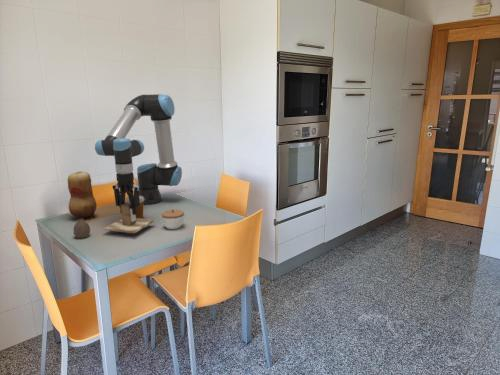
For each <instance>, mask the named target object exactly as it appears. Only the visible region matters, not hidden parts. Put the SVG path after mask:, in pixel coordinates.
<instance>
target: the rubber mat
mask: <svg viewBox="0 0 500 375" xmlns="http://www.w3.org/2000/svg"><path fill="white" fill-rule="evenodd" d="M155 227H157V226H156V225H152V224H149V225H148V226H146V227H144V228H143V229H141V230H139V231H138V232H136V233H126V232H117V231H109V230H107V232H105V233H103V234H102V236H103V237H104V236H106V237H113V238H122V239H130V240H136V239H138V238H140V237H142V236H143V235H144V234H147V232H149V231H151V230H153V229H154V228H155Z"/></svg>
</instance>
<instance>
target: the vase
mask: <svg viewBox="0 0 500 375" xmlns="http://www.w3.org/2000/svg"><path fill="white" fill-rule="evenodd" d="M72 230H73V235H74V236H75V238H76V239H81V240H82V239H86V238H88V237H89V236H90V234H91V227H90V225H89V223H88V222H87V221H86V220H85V218H78V219H77V220H76V223H75V224H74V226H73V229H72Z"/></svg>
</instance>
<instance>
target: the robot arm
mask: <svg viewBox="0 0 500 375" xmlns="http://www.w3.org/2000/svg"><path fill="white" fill-rule="evenodd" d="M175 110H176V109H175V104H174V101H173V98H172V97H171V96H170V95H169V94H161V93H157V94H156V93H155V94H140V95H137V96H136V97H134V98H132V99H131V100H130V101H129V102H128V103H127V104H126V105H125V106H124V108H123V113H122V114H121V116H120V117H119V119H118V120H117V121H116V122H115V124H114V126H113V127H112V128H111V130H110V131H109V132H108V134H107V135H106V137H105V138H104V139H99V140H97V141H96V142H95V144H94V150H95V153H96V154H97V155H98V156H105V157H114V165H115V172H116V174H115V175H116V176H115V177H116V181H117V183H116V184H114V185H112V189H113V193H114V200H115V206H117V207H119V211H120V214H121V215H122V213H121V205H122V204H124V203H126V201H125V200H126V195H127V197H129V201H130V204H131V208H130V214H131V222H133V221H135V220H136V216H135V214H136V207H138V206H140V200H139V196H143V197H144V199H145V200H144V205H154V204H155V205H156V204H158V203H160V202H161V203H162V201H163V198H162V195H161V192H160V190H159V186H166V187H167V186H168V187H172V186H173V187H174V186H175V187H176V186H178V185H179V184H180V183H181V180H182V175H183V169H182V167H181V166H178V162H177V161H176V160H175V155H174V148H173V141H172V139H173V138H172V132H171V130H172V129H171V123H170V121H171V120H172V119H173V117H172V116H174V115H175ZM145 116H146V117H150V120H151V121H152V122H153V125H154V132H155V138H156V145H157V146H156V147H157V153H158V161H159V162H158V164H157V163H153V162H151V163H146V164H141V165H139V166H138V167H137V168H136V174H137V185H135V182H134V180H135V175H134V166H133V165H134V164H133V158H134V157H136V156H137V157H138V156H139V155H142V154H143V152H144V150H145V144H144V143H143V141H141V140H139V139H132V140H131V139H130V138H127V135H128V134H129V132H130V131H131V130H132V128H133V126H134V124H135V123H136V122H137V121H138V120H140V119H141V118H142V117H145Z"/></svg>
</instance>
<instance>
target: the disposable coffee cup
mask: <svg viewBox="0 0 500 375" xmlns="http://www.w3.org/2000/svg"><path fill="white" fill-rule="evenodd" d="M139 200H140V206H138V207H136V218H139V219H144V205H145V204H144V200H145V199H144V197H143V196H139ZM126 202H130V201H129V197H128V196H127V197H125V203H126Z"/></svg>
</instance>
